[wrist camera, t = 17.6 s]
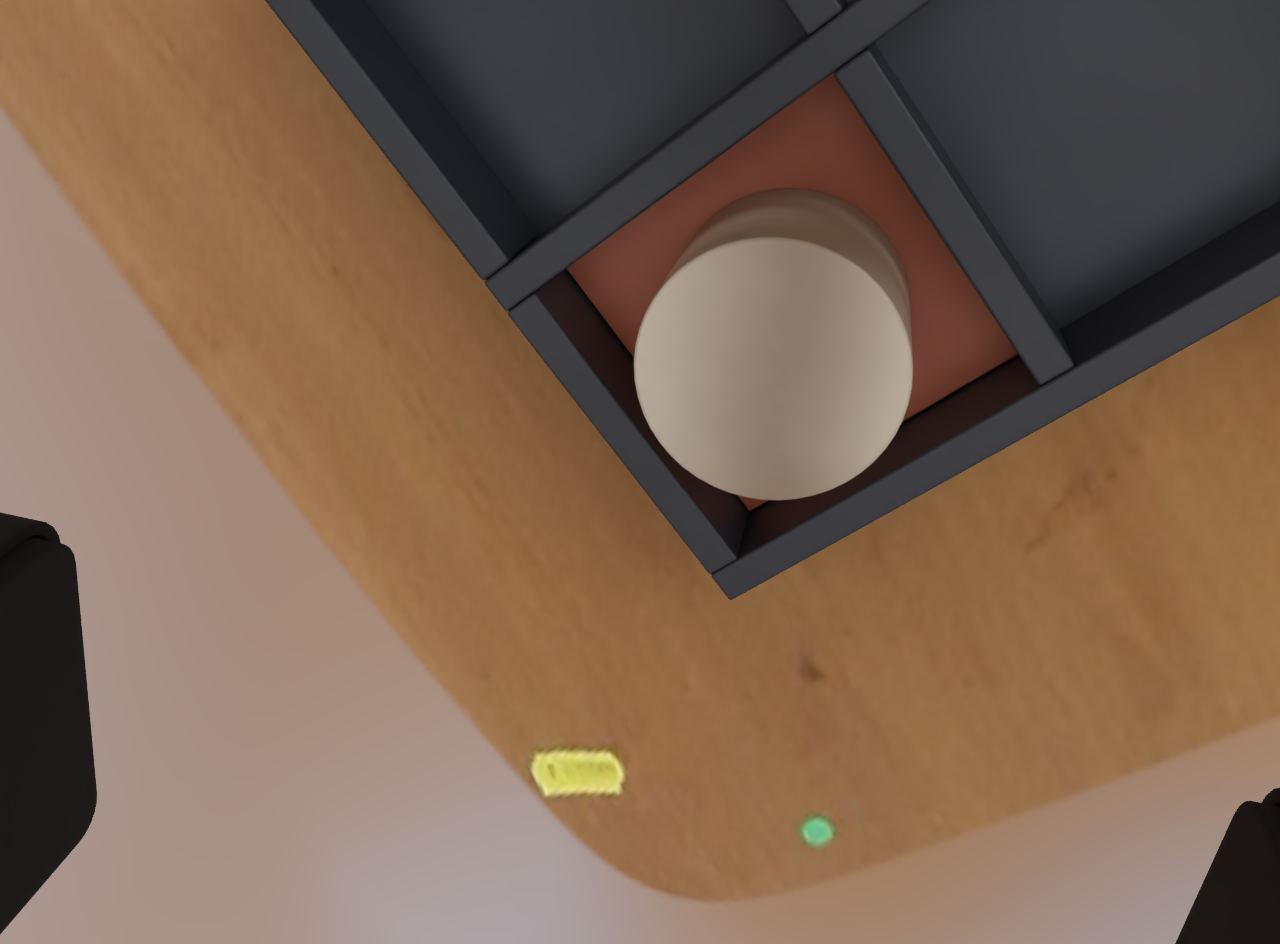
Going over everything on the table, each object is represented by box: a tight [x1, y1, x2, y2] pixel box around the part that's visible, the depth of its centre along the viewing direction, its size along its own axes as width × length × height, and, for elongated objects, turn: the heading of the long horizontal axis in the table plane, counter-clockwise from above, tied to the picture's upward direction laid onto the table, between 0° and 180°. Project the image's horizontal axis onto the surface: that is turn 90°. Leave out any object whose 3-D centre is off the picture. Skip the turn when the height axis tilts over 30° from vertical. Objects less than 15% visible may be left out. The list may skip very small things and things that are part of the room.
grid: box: [265, 0, 1280, 600], centre depth 21 cm, size 15×15×3 cm
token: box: [634, 188, 913, 500], centre depth 22 cm, size 5×5×4 cm
